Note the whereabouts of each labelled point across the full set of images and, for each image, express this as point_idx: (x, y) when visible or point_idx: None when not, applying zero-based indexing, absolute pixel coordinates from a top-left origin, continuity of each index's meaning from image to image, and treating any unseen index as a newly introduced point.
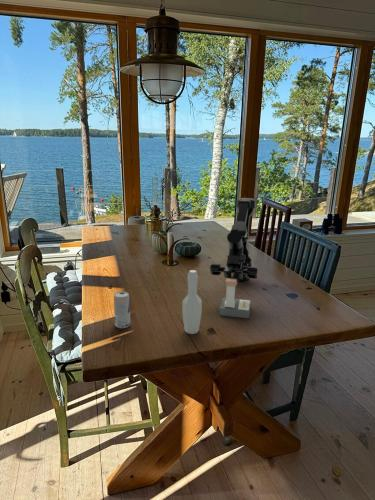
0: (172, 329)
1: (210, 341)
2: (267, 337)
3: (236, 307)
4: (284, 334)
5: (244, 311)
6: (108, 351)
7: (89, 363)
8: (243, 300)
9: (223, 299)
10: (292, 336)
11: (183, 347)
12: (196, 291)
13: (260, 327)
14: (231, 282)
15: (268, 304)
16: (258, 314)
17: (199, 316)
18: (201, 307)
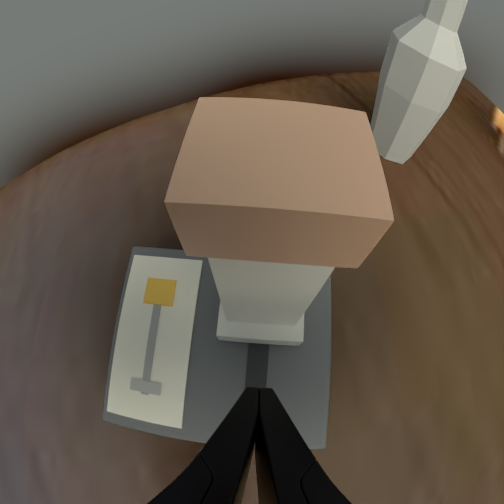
0: (441, 153)
1: (310, 101)
2: (117, 141)
3: (212, 287)
4: (58, 170)
5: (163, 250)
6: (475, 99)
7: (468, 82)
8: (153, 410)
9: (318, 412)
10: (44, 166)
11: (369, 87)
12: (427, 4)
13: (117, 194)
14: (271, 109)
15: (36, 443)
16: (91, 321)
17: (379, 82)
18: (389, 64)
